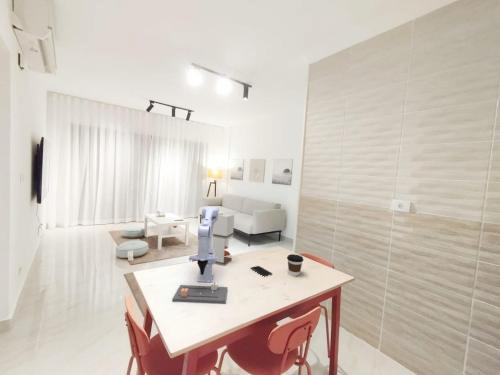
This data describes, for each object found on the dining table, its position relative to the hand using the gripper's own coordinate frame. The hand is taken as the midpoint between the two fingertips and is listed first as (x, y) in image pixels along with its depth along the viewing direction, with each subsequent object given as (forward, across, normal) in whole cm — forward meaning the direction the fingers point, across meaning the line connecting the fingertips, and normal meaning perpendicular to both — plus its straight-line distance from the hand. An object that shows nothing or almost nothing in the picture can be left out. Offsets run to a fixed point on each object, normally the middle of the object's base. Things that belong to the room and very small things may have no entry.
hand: (202, 273), depth 120 cm
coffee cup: (+11, +57, +28) cm, 65 cm away
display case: (+10, +7, +45) cm, 47 cm away
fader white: (+9, +7, +2) cm, 11 cm away
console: (+10, 0, -2) cm, 11 cm away
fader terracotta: (+9, -8, -6) cm, 13 cm away
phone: (+11, +35, +31) cm, 48 cm away
